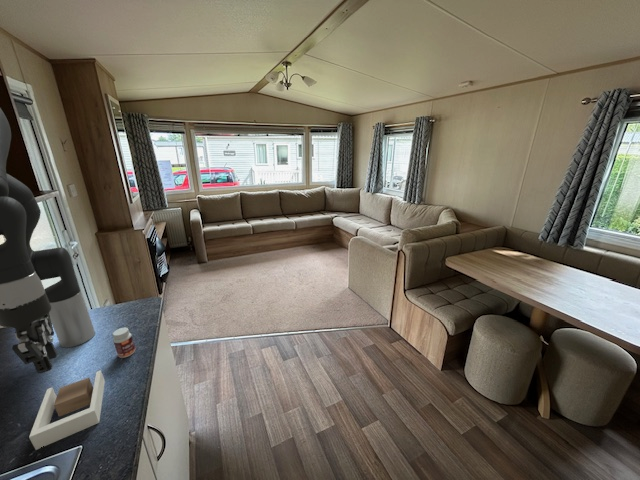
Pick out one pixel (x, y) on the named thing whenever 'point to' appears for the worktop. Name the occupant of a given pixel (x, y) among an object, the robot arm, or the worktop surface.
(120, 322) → the worktop surface
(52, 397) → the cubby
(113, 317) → the worktop surface
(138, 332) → the worktop surface
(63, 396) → the walnut block
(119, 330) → the pill bottle
